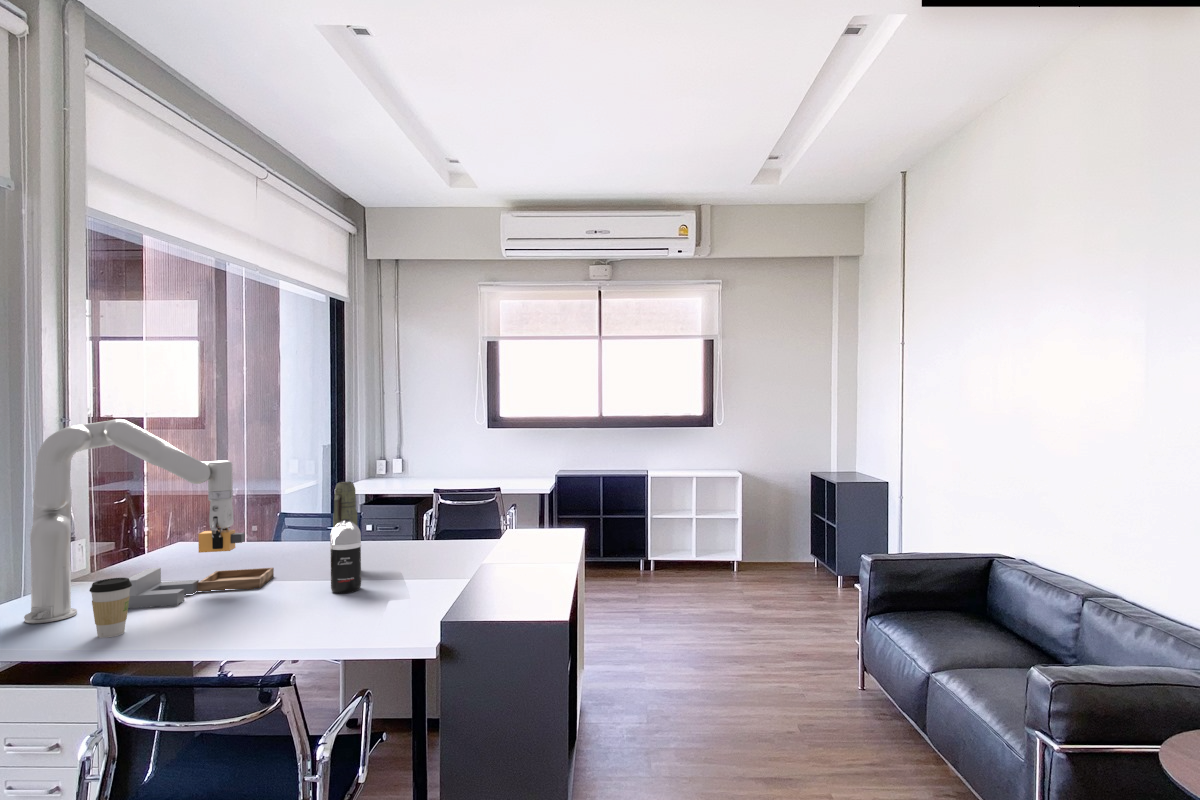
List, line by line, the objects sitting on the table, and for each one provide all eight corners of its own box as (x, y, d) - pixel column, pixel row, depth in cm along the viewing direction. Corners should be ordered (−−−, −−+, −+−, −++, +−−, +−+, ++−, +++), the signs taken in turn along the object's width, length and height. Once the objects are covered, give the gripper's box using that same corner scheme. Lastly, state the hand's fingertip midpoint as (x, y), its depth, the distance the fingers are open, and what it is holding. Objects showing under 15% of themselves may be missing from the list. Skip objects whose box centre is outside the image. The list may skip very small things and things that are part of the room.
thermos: (327, 575, 259) (326, 483, 259) (342, 568, 271) (341, 480, 271) (348, 575, 258) (347, 483, 258) (363, 568, 269) (362, 480, 270)
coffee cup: (140, 628, 197) (139, 576, 197) (117, 639, 187) (116, 585, 187) (105, 629, 197) (105, 577, 197) (80, 640, 187) (80, 586, 187)
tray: (259, 588, 240) (259, 578, 240) (198, 592, 236) (197, 582, 236) (273, 576, 258) (273, 567, 258) (216, 580, 254) (216, 570, 254)
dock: (177, 605, 221) (177, 577, 221) (122, 608, 217) (122, 580, 218) (198, 591, 238) (198, 565, 238) (148, 594, 235) (148, 568, 235)
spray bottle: (330, 588, 239) (329, 517, 239) (361, 585, 242) (360, 515, 243) (330, 595, 229) (329, 521, 230) (362, 592, 233) (361, 519, 233)
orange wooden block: (240, 550, 236) (240, 531, 237) (198, 552, 234) (198, 533, 234) (245, 547, 242) (245, 529, 242) (204, 549, 239) (204, 531, 240)
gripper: (223, 498, 230) (223, 551, 230) (240, 492, 247) (240, 541, 247) (199, 499, 229) (199, 552, 229) (218, 493, 246) (218, 543, 246)
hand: (221, 546), depth 238 cm, fingers closed on orange wooden block, 5 cm apart
